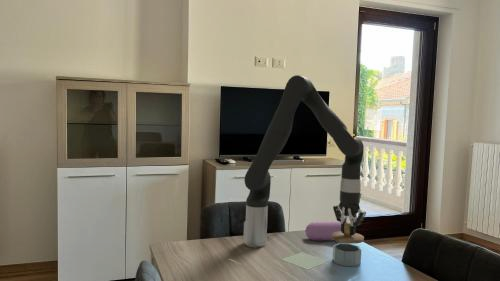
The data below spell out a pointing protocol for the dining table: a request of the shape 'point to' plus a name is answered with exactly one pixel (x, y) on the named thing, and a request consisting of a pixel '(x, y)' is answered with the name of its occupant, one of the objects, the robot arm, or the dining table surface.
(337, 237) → the lid
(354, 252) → the cup
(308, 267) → the mat
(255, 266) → the dining table surface
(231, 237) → the dining table surface
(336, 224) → the toy
